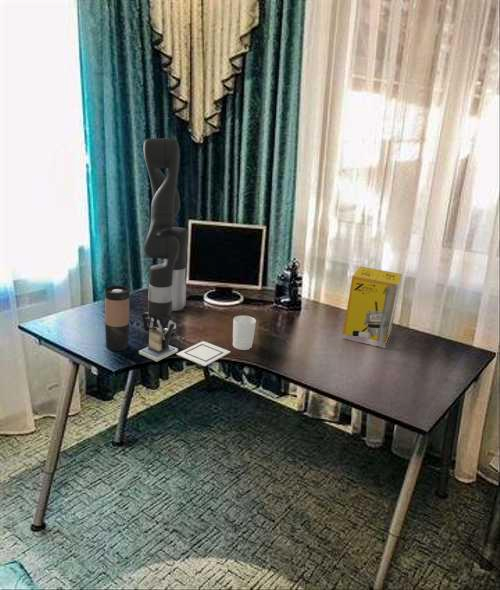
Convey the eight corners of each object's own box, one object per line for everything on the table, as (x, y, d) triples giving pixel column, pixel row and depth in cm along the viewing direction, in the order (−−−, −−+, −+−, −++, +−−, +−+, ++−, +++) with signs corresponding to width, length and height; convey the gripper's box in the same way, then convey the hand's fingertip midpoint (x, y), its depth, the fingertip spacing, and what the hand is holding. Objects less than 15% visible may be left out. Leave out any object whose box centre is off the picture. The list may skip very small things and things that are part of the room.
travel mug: (133, 344, 165) (134, 288, 158) (120, 353, 158) (120, 295, 151) (114, 339, 167) (114, 284, 160) (100, 348, 160) (99, 290, 154)
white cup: (257, 345, 173) (259, 319, 170) (247, 353, 167) (250, 326, 163) (237, 339, 176) (239, 313, 173) (227, 347, 169) (229, 320, 166)
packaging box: (385, 349, 180) (398, 284, 172) (341, 338, 185) (352, 276, 177) (390, 334, 194) (402, 274, 186) (350, 324, 200) (360, 266, 192)
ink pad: (160, 344, 167) (160, 340, 166) (177, 351, 163) (178, 348, 162) (138, 353, 159) (138, 350, 158) (156, 361, 155) (156, 358, 154)
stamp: (158, 344, 163) (159, 328, 161) (169, 348, 161) (169, 332, 159) (148, 349, 160) (148, 332, 158) (158, 353, 157) (159, 336, 155)
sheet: (203, 341, 172) (203, 340, 172) (230, 352, 166) (230, 351, 166) (176, 354, 161) (176, 353, 160) (204, 366, 155) (204, 365, 154)
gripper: (185, 300, 154) (182, 349, 159) (152, 289, 161) (151, 336, 167) (168, 306, 148) (167, 357, 153) (135, 294, 155) (134, 343, 161)
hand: (158, 346), depth 160 cm, fingers closed on stamp, 4 cm apart
